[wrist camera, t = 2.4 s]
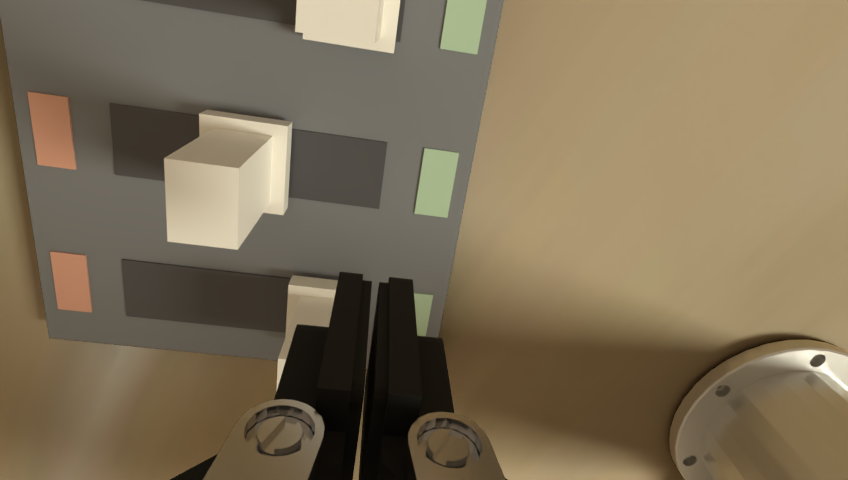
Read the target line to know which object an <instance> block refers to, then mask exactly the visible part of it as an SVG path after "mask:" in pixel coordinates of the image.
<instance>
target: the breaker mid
mask: <svg viewBox="0 0 848 480" xmlns="http://www.w3.org/2000/svg"><path fill="white" fill-rule="evenodd" d="M291 138H292V122H291V121H284V120H277V119H270V118H263V117H256V116H249V115H242V114H235V113H228V112H221V111H214V110H205V111H203V112H201V113H199V137H198V138H197V139H195V140H193V141H192V142H190V143H188V144H187V145H185V146H183V147H182V148H180V149H178V150H177V151H175V152H173V153H172V154H170V155H169V156H167V157H165V158H164V172H165V196H166V219H167V242H176V243H184V244H193V245H201V246H210V247H218V248H226V249H235V250H238V249H239V247H240V246H241V244H242V243H243V241H244V240H245V238H246V237H247V236H248V234H249V233H250V231H251V230H252V228H253V227H254V226H255V224H256V223H257V221H258V220H259V218H260V217H261V215H262V214H263V213H270V214H278V215H284V213H285V212H286V210H287V208H288V194H289V176H290V157H291Z"/></svg>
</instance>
